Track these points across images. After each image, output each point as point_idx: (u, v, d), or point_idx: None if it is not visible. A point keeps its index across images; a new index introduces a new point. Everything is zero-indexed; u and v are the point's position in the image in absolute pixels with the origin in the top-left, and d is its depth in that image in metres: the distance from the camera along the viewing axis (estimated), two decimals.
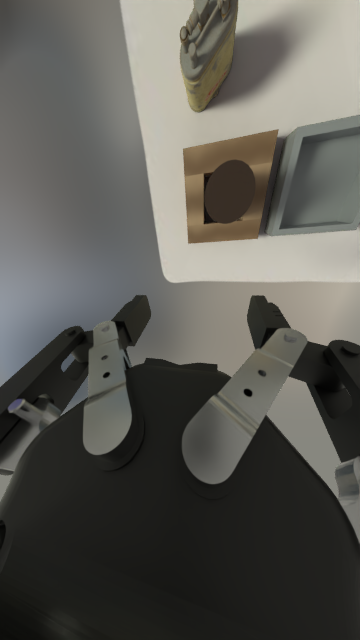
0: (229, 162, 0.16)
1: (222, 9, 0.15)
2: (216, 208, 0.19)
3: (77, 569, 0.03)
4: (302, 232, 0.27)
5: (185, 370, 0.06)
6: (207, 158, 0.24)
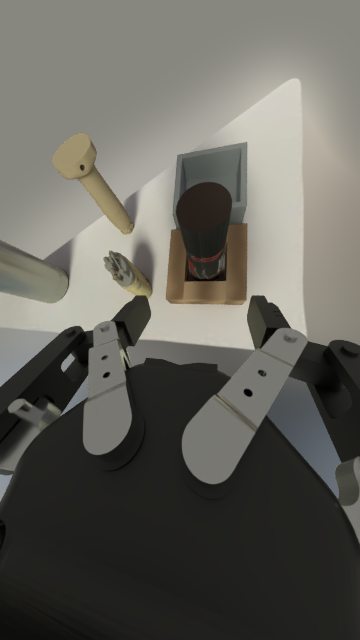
0: (177, 211, 0.16)
1: (116, 258, 0.25)
2: (213, 217, 0.15)
3: (77, 569, 0.03)
4: (245, 180, 0.26)
5: (184, 369, 0.06)
6: (175, 278, 0.28)
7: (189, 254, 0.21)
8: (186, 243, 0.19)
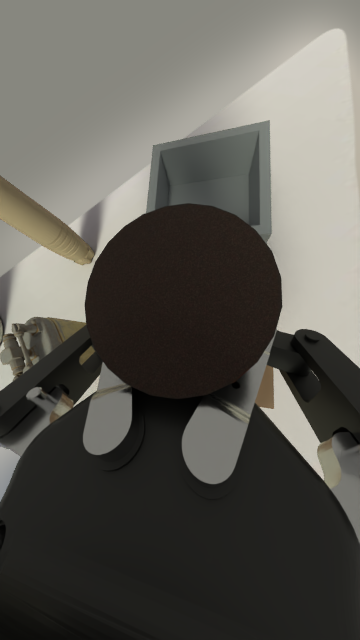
0: (90, 298, 0.05)
1: (32, 331, 0.13)
2: (209, 341, 0.04)
3: (77, 569, 0.03)
4: (268, 187, 0.15)
5: None
6: None
7: None
8: None
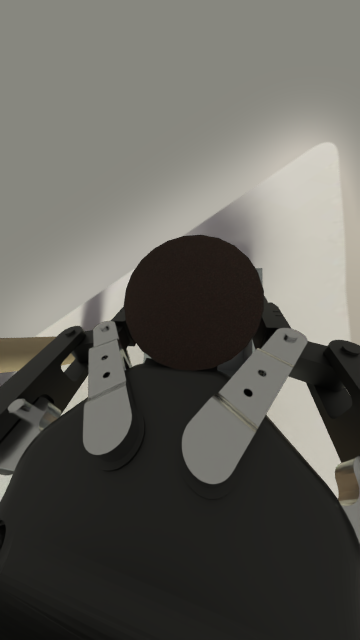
0: (127, 301, 0.07)
1: None
2: (215, 332, 0.06)
3: (77, 569, 0.03)
4: None
5: None
6: None
7: None
8: None
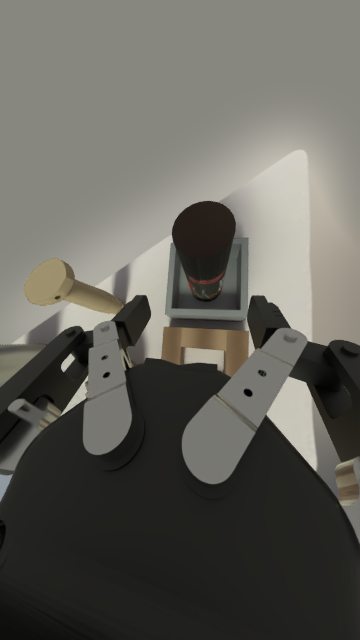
0: (173, 232, 0.15)
1: None
2: (214, 241, 0.14)
3: (77, 569, 0.03)
4: (246, 285, 0.23)
5: (184, 369, 0.06)
6: None
7: (187, 275, 0.19)
8: (184, 265, 0.17)
